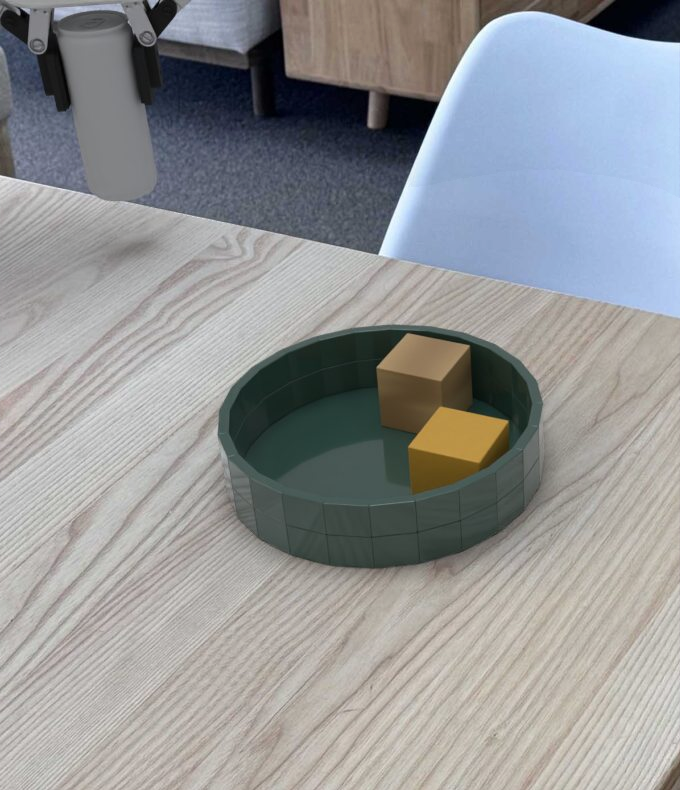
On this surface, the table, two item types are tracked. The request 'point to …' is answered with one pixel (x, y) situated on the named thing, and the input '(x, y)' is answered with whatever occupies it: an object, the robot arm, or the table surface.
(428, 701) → the table surface
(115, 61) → the beverage can
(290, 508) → the bowl
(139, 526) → the table surface
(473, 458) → the mustard block
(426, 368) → the maple block
